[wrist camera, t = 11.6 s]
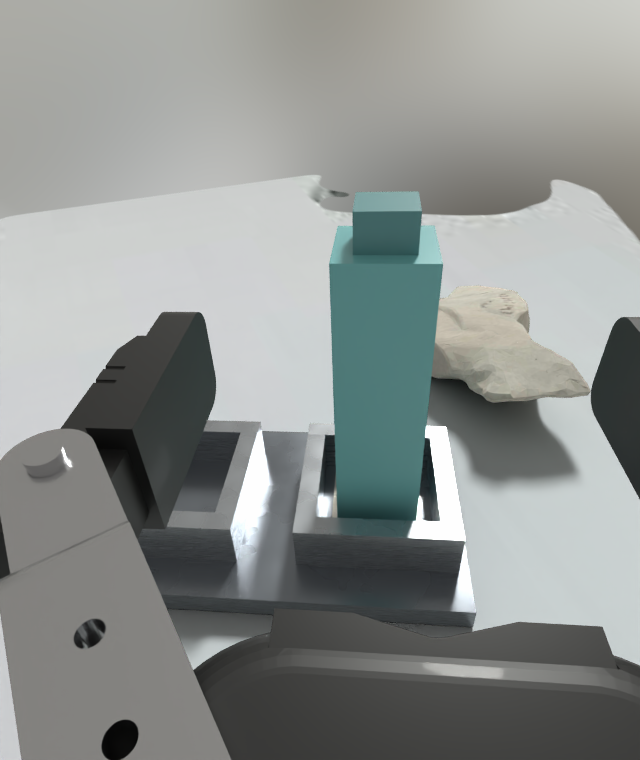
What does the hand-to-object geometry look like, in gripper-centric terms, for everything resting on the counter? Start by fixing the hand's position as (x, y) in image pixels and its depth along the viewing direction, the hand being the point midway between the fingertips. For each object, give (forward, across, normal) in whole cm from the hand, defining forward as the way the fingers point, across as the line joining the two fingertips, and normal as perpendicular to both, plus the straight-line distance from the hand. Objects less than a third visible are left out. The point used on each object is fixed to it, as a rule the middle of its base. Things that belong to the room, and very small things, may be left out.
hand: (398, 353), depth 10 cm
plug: (+10, 0, +17) cm, 20 cm away
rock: (+28, -6, +19) cm, 34 cm away
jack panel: (+10, +5, +18) cm, 22 cm away
